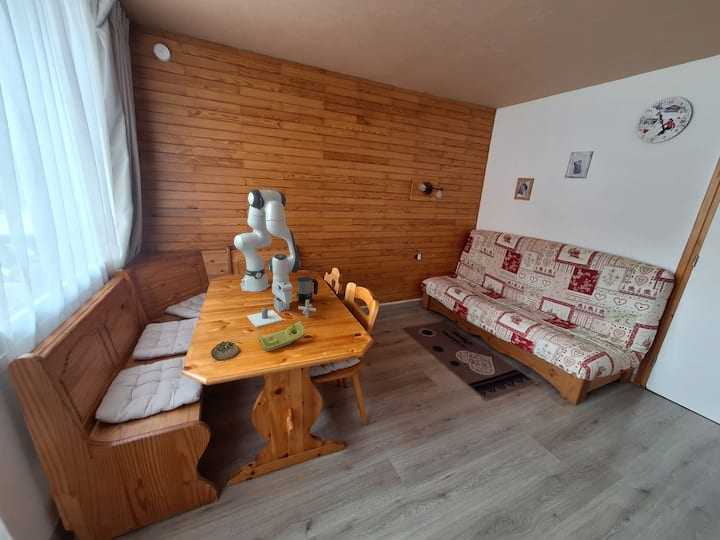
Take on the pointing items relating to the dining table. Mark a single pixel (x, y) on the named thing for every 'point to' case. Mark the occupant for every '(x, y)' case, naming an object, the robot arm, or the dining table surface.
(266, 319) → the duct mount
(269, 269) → the robot arm
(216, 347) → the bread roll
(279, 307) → the sleeve
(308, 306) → the pipe connector
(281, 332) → the plastic component
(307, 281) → the milk frother
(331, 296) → the dining table surface
